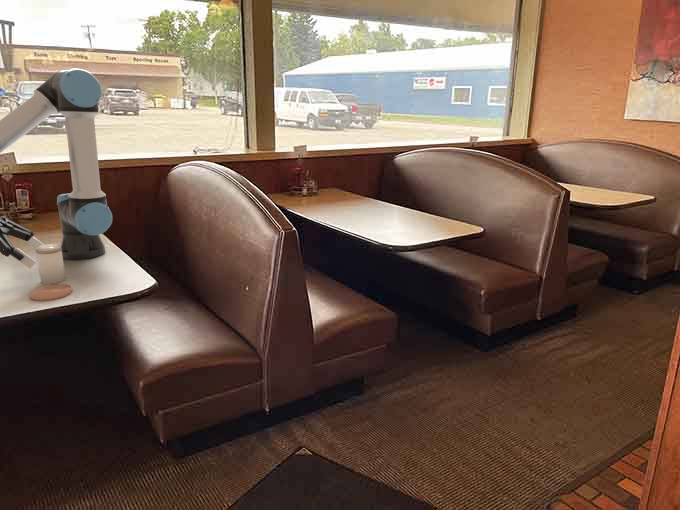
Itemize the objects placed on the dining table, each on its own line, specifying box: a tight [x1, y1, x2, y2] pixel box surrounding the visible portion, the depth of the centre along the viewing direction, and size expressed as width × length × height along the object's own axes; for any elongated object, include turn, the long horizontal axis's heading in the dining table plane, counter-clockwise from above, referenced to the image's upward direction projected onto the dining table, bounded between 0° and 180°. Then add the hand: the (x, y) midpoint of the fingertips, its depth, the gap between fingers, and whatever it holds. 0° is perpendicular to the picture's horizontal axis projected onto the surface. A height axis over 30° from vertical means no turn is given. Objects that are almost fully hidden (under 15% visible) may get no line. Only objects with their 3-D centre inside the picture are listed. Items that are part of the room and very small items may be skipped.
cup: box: [34, 243, 67, 285], centre depth 163 cm, size 7×7×11 cm
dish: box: [28, 283, 73, 302], centre depth 153 cm, size 11×11×1 cm
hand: (41, 258), depth 162 cm, fingers open, 13 cm apart
